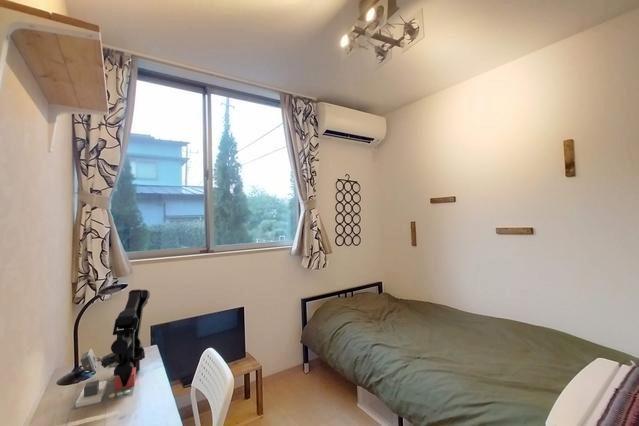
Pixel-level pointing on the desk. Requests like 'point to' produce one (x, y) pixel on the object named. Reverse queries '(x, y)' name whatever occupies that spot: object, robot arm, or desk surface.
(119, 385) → the red block
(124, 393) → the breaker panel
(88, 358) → the electrical switch
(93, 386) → the grey cube
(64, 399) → the desk surface
